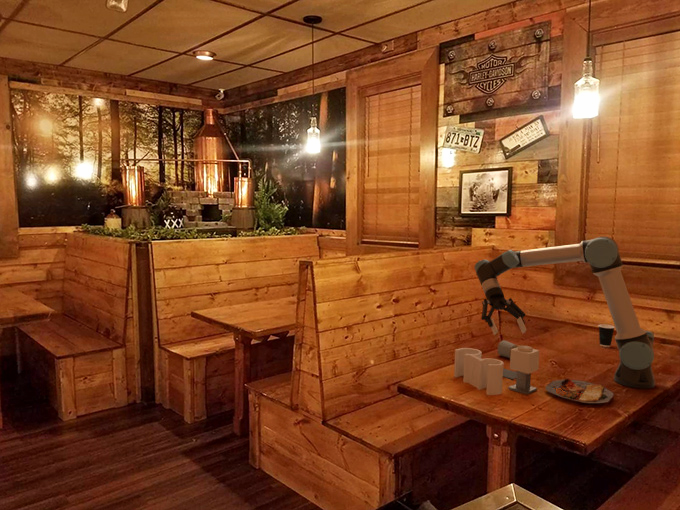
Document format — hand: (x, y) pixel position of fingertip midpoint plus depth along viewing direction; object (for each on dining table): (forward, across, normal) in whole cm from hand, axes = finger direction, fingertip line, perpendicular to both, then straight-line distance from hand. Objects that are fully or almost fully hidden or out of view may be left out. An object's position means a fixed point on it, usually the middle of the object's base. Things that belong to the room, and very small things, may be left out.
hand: (510, 332), depth 218 cm
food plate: (+29, -19, -1) cm, 35 cm away
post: (+22, 0, -7) cm, 23 cm away
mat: (+9, -5, -20) cm, 23 cm away
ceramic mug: (-7, -22, -38) cm, 44 cm away
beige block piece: (+16, 0, -1) cm, 16 cm away
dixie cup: (-13, -86, -43) cm, 97 cm away
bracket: (+16, +14, -14) cm, 26 cm away
